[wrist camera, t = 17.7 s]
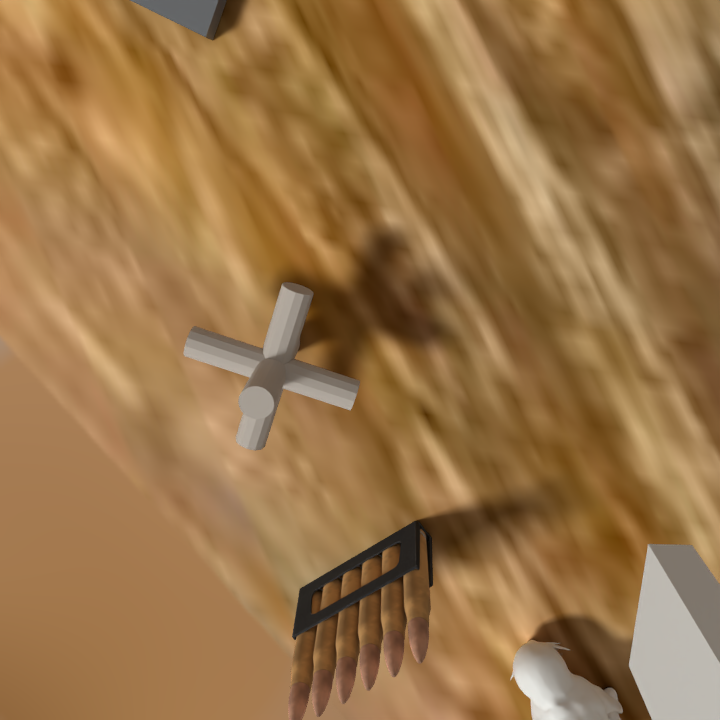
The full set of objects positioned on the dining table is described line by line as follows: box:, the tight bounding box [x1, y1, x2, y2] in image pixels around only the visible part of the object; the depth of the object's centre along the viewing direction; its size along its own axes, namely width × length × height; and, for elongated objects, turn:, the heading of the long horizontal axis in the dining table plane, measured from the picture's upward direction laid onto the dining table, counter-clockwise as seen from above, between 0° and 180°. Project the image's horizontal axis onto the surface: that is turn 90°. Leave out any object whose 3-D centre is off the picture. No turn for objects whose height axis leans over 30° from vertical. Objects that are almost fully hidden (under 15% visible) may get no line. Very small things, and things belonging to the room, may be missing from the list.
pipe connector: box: [184, 282, 360, 450], centre depth 39 cm, size 10×10×10 cm
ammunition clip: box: [289, 521, 433, 720], centre depth 43 cm, size 11×2×12 cm, turn 126°
